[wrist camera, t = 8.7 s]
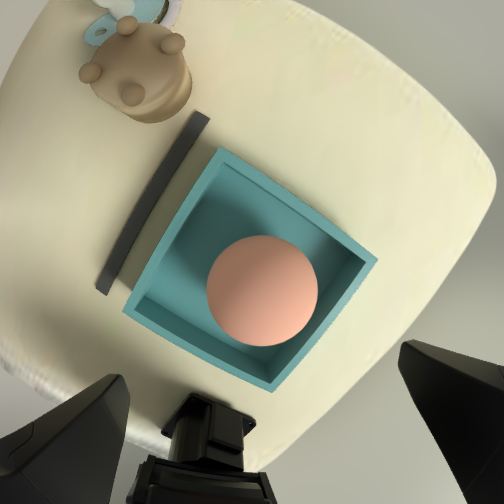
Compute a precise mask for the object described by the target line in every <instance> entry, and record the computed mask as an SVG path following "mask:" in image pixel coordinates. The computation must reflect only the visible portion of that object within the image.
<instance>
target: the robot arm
mask: <svg viewBox="0 0 504 504" xmlns="http://www.w3.org/2000/svg"><path fill="white" fill-rule="evenodd" d="M398 368H399V371H400V373H401V375H402V377H403V379H404V381H405V384H406V386H407V388H408V391H409V393H410V395H411V397H412V399H413V402H414V403H415V405H416V407H417V409H418V411H419V412H420V414H421V416H422V418H423V419H424V421H425V423H426V425H427V426H428V428H429V430H430V432H431V433H432V435H433V437H434V439H435V441H436V443H437V444H438V446H439V448H440V450H441V452H442V454H443V456H444V457H445V459H446V461H447V463H448V465H449V467H450V469H451V471H452V473H453V475H454V477H455V479H456V481H457V483H458V485H459V487H460V489H461V491H462V493H463V495H464V497H465V500H466V502H467V504H504V366H501V365H497V364H494V363H490V362H487V361H483V360H480V359H476V358H473V357H469V356H466V355H463V354H459V353H456V352H453V351H449V350H446V349H443V348H439V347H436V346H433V345H430V344H427V343H424V342H420V341H417V340H408V341H405V342H403V343H402V345H401V349H400V355H399V359H398ZM192 398H194V399H196V400H193V399H192ZM129 405H130V393H129V391H128V388H127V386H126V383H125V381H124V378H123V376H122V375H120V374H108V375H107V376H105V377H103V378H102V379H100V380H99V381H97V382H96V383H94V384H92V385H91V386H89V387H88V388H86V389H84V390H83V391H81V392H80V393H78V394H76V395H75V396H73V397H72V398H70V399H68V400H67V401H65V402H64V403H62V404H60V405H59V406H57V407H55V408H54V409H52V410H50V411H49V412H47V413H46V414H44V415H42V416H41V417H39V418H37V419H36V420H34V422H33V421H32V422H31V423H29V424H27V425H26V426H24V427H22V428H20V429H18V430H17V431H15V432H13V433H11V434H9V435H7V436H5V437H3V438H1V439H0V504H109V502H110V497H111V492H112V487H113V483H114V478H115V474H116V470H117V466H118V462H119V458H120V453H121V450H122V446H123V442H124V438H125V432H126V425H127V418H128V411H129ZM249 423H251V424H249ZM255 426H256V420H255V419H253V418H250V417H248V416H245V415H243V414H240V413H238V412H236V411H233V410H231V409H228V408H226V407H224V406H222V405H219V404H217V403H215V402H213V401H210V400H208V399H206V398H204V397H202V396H200V395H198V394H195V393H191V394H189V395H188V396H187V397H186V399H185V400H184V401H183V402H182V404H181V405H180V406H179V407H178V409H177V410H176V411H175V412H174V414H173V415H172V416H171V417H170V419H169V420H168V421H167V422H166V424H165V425H164V426H163V427H162V429H161V434H162V435H164V436H166V437H168V438H170V439H172V441H171V446H170V451H169V457H168V460H166V459H161V458H157V457H156V456H153V455H150V454H149V455H148V458H147V461H146V462H145V461H144V463H143V464H140V465H139V468H138V472H137V476H136V479H135V481H134V483H133V486H132V487H131V489H130V491H129V493H128V495H127V497H126V504H277V501H276V499H275V496H274V493H273V491H272V488H271V485H270V483H269V480H268V477H267V475H266V472H258V473H252V472H243V471H244V462H243V450H244V440H243V438H244V437H245V436H246V435H247V434H248V433H249V432H250V431H251V430H252V429H253V428H254V427H255Z"/></svg>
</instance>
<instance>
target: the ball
mask: <svg viewBox="0 0 504 504" xmlns="http://www.w3.org/2000/svg"><path fill="white" fill-rule="evenodd" d="M206 294H207V302H208V306H209V309H210V312H211V314H212V316H213V318H214V319H215V321H216V323H217V324H218V325H219V326H220V328H221V329H222V330H223V331H224V332H225V333H227V334H228V335H229V336H231V337H232V338H234V339H236V340H238V341H240V342H242V343H245V344H249V345H254V346H270V345H275V344H278V343H282V342H284V341H286V340H288V339H290V338H292V337H293V336H295V335H296V334H297V333H298V332H299V331H301V330H302V329H303V327H304V326H305V325H306V324H307V322H308V321H309V319H310V318H311V316H312V314H313V311H314V309H315V306H316V302H317V295H318V286H317V279H316V275H315V272H314V269H313V267H312V265H311V263H310V262H309V260H308V259H307V257H306V256H305V255H304V254H303V253H302V252H301V251H300V250H299V249H298V248H297V247H296V246H295V245H293V244H291V243H290V242H288V241H286V240H284V239H281V238H278V237H274V236H268V235H256V236H250V237H246V238H243V239H241V240H238V241H236V242H235V243H233V244H231V245H230V246H228V247H227V248H226V249H225V250H224V251H223V252H222V253H221V254H220V255H219V256H218V257H217V259H216V260H215V262H214V264H213V266H212V268H211V270H210V272H209V275H208V280H207V286H206Z"/></svg>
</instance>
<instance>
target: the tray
mask: <svg viewBox="0 0 504 504" xmlns="http://www.w3.org/2000/svg"><path fill="white" fill-rule="evenodd" d="M256 235H268V236H274V237H278V238H281V239H284V240H286V241H288V242H290V243H291V244H293V245H295V246H296V247H297V248H298V249H299V250H300V251H301V252H302V253H303V254H304V255H305V256H306V257H307V259H308V260H309V262H310V263H311V265H312V267H313V269H314V272H315V275H316V279H317V286H318V295H317V302H316V306H315V309H314V311H313V314H312V316H311V318H310V319H309V321H308V322H307V324H306V325H305V326H304V327H303V329H302V330H301V331H299V332H298V333H297V334H296V335H295V336H293V337H292V338H290V339H288V340H286V341H284V342H282V343H278V344H275V345H270V346H254V345H249V344H245V343H242V342H240V341H238V340H236V339H234V338H232V337H231V336H229V335H228V334H227V333H225V332H224V331H223V330H222V329H221V328H220V326H219V325H218V324H217V323H216V321H215V319H214V318H213V316H212V314H211V312H210V309H209V306H208V302H207V294H206V286H207V280H208V275H209V272H210V270H211V268H212V266H213V264H214V262H215V260H216V259H217V257H218V256H219V255H220V254H221V253H222V252H223V251H224V250H225V249H226V248H227V247H228V246H230V245H231V244H233V243H235V242H236V241H238V240H241V239H243V238H246V237H250V236H256ZM377 260H378V259H377V258H376V257H375V256H374V255H372V254H371V253H370V252H369V251H367V250H366V249H365V248H364V247H362V246H361V245H360V244H359V243H357V242H356V241H355V240H353V239H352V238H351V237H350V236H348V235H347V234H346V233H344V232H343V231H342V230H340V229H339V228H338V227H337V226H335V225H334V224H333V223H331V222H330V221H329V220H327V219H326V218H325V217H323V216H322V215H320V214H319V213H318V212H316V211H315V210H314V209H312V208H311V207H310V206H308V205H307V204H305V203H304V202H303V201H301V200H300V199H298V198H297V197H296V196H294V195H293V194H291V193H290V192H289V191H287V190H286V189H284V188H283V187H281V186H280V185H279V184H277V183H276V182H274V181H273V180H271V179H270V178H268V177H267V176H265V175H264V174H262V173H261V172H259V171H258V170H256V169H255V168H253V167H252V166H250V165H249V164H247V163H246V162H244V161H243V160H241V159H240V158H238V157H237V156H235V155H234V154H232V153H230V152H229V151H227V150H226V149H224V148H223V147H221V146H220V147H219V149H218V150H217V152H216V153H215V155H214V156H213V157H212V159H211V160H210V162H209V163H208V165H207V166H206V168H205V169H204V171H203V172H202V174H201V175H200V177H199V178H198V180H197V182H196V183H195V185H194V186H193V188H192V189H191V191H190V192H189V194H188V196H187V197H186V199H185V200H184V202H183V204H182V205H181V207H180V208H179V210H178V212H177V213H176V215H175V217H174V218H173V220H172V222H171V223H170V225H169V227H168V228H167V230H166V232H165V233H164V235H163V237H162V238H161V240H160V242H159V244H158V245H157V247H156V249H155V251H154V252H153V254H152V256H151V258H150V260H149V261H148V263H147V265H146V267H145V269H144V270H143V272H142V274H141V276H140V278H139V280H138V282H137V283H136V285H135V287H134V289H133V291H132V293H131V295H130V297H129V299H128V301H127V303H126V305H125V307H124V309H123V311H122V312H123V313H125V314H126V315H128V316H129V317H131V318H132V319H134V320H136V321H137V322H139V323H140V324H142V325H144V326H145V327H147V328H148V329H150V330H152V331H153V332H155V333H157V334H158V335H160V336H162V337H163V338H165V339H167V340H168V341H170V342H172V343H174V344H175V345H177V346H179V347H181V348H182V349H184V350H186V351H188V352H190V353H191V354H193V355H195V356H197V357H199V358H201V359H203V360H205V361H206V362H208V363H210V364H212V365H214V366H216V367H218V368H220V369H222V370H224V371H226V372H228V373H230V374H232V375H234V376H236V377H238V378H240V379H243V380H245V381H247V382H249V383H251V384H253V385H255V386H258V387H260V388H262V389H264V390H267V391H269V392H271V393H273V392H274V391H275V390H276V388H277V387H278V386H279V385H280V384H281V383H282V382H283V381H284V380H285V379H286V377H287V376H288V375H289V374H290V373H291V372H292V371H293V370H294V368H295V367H296V366H297V365H298V364H299V363H300V361H301V360H302V359H303V358H304V357H305V356H306V354H307V353H308V352H309V351H310V350H311V348H312V347H313V346H314V345H315V344H316V342H317V341H318V340H319V339H320V337H321V336H322V335H323V334H324V333H325V331H326V330H327V329H328V327H329V326H330V325H331V324H332V322H333V321H334V320H335V319H336V317H337V316H338V315H339V313H340V312H341V311H342V309H343V308H344V307H345V305H346V304H347V303H348V301H349V300H350V299H351V297H352V296H353V295H354V293H355V292H356V290H357V289H358V288H359V286H360V285H361V284H362V282H363V281H364V279H365V278H366V276H367V275H368V274H369V272H370V271H371V269H372V268H373V266H374V265H375V263H376V262H377Z"/></svg>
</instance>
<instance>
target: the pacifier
mask: <svg viewBox="0 0 504 504" xmlns="http://www.w3.org/2000/svg"><path fill="white" fill-rule="evenodd" d="M91 1H92V2H93V3H94V4H95V5H97V6H99V7H102V8H107V10H108V11H109V13H107V14H106V15H104V16H102V17H101V18H100V19H98V20H97V21H96V22H94V23H93V24H92V25H91V26H90V27H89V28H88V30H87V31H86V33H85V35H84V41H85V42H86V43H87V44H89V45H91V46H101V45H102V43H103V42H104V41H105V40H106V39H107V38H109V37H110V36H111V35H112V34H114V33H115V32H117V30H116V24H117V22H118V21H119V19H121V18H122V17H124V16H129V15H130V16H134V17H135V18H136V19H137V20H138V23H145V22H149V23H152V22H153V21H154V20H155V19H156V17H157V16H158V14H159V13H160V11H161V9H162V7H163V5H164V2H165V0H91ZM168 2H169V8H168V11H167V13H166V15H165V17H164V18H163V20H162V21H161V23H160V25H163V26H165V27H166V28H168V29H170V27H171V26H172V25H173V23H174V22H175V20H176V18H177V17H178V14H179V11H180V9H181V0H168ZM104 29H106V30H107V31H106V32H105V33H104V34H102V35H96V34H97V33H98V32H99V31H100V30H104Z"/></svg>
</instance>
